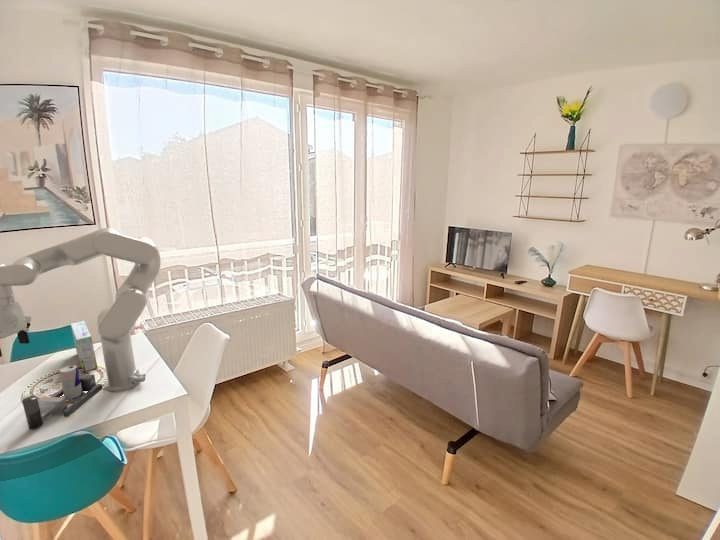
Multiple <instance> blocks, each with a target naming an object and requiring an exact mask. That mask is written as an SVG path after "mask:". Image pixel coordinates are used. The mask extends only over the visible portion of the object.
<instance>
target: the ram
mask: <svg viewBox="0 0 720 540" xmlns="http://www.w3.org/2000/svg"><path fill="white" fill-rule="evenodd" d="M21 401H22V406H23V411H24V413H25V417H26V422H27V426H28V429H29V430H36V429H39V428H41V427H42V426H43V425H44V421H45V420H46V419H48V418H49V417H51V415H63V411H64V410H66V409H67V408H68V407H69V406H68V403H67V402H68V401H66V397H64V396H63V397H51V396H42V397H40V398H39V399H38V396H37V395H29V396H26V397H25V398H23V399H22V400H21ZM63 416H64V415H63Z"/></svg>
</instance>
